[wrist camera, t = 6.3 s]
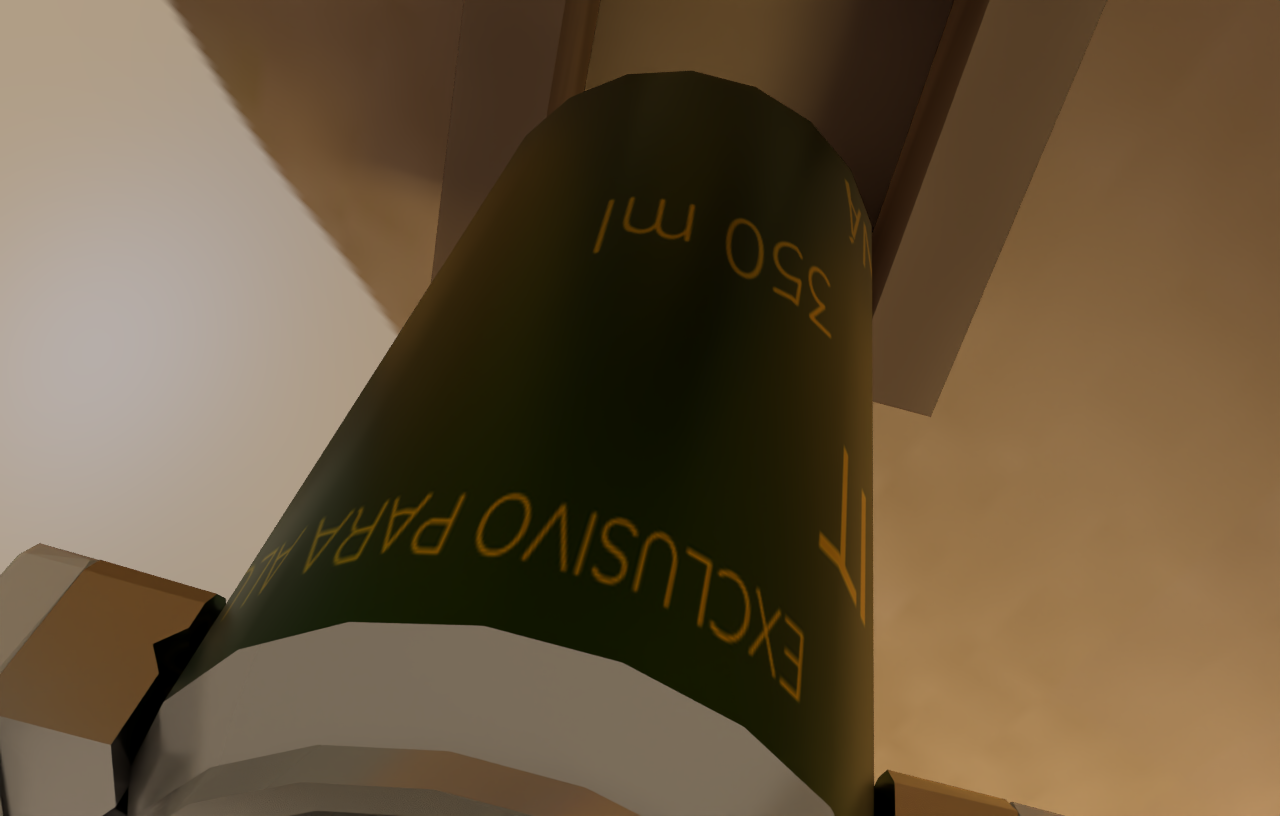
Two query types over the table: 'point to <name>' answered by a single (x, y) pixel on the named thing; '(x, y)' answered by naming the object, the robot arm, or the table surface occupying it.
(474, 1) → the shelf
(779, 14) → the table surface
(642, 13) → the table surface
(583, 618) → the beer can
